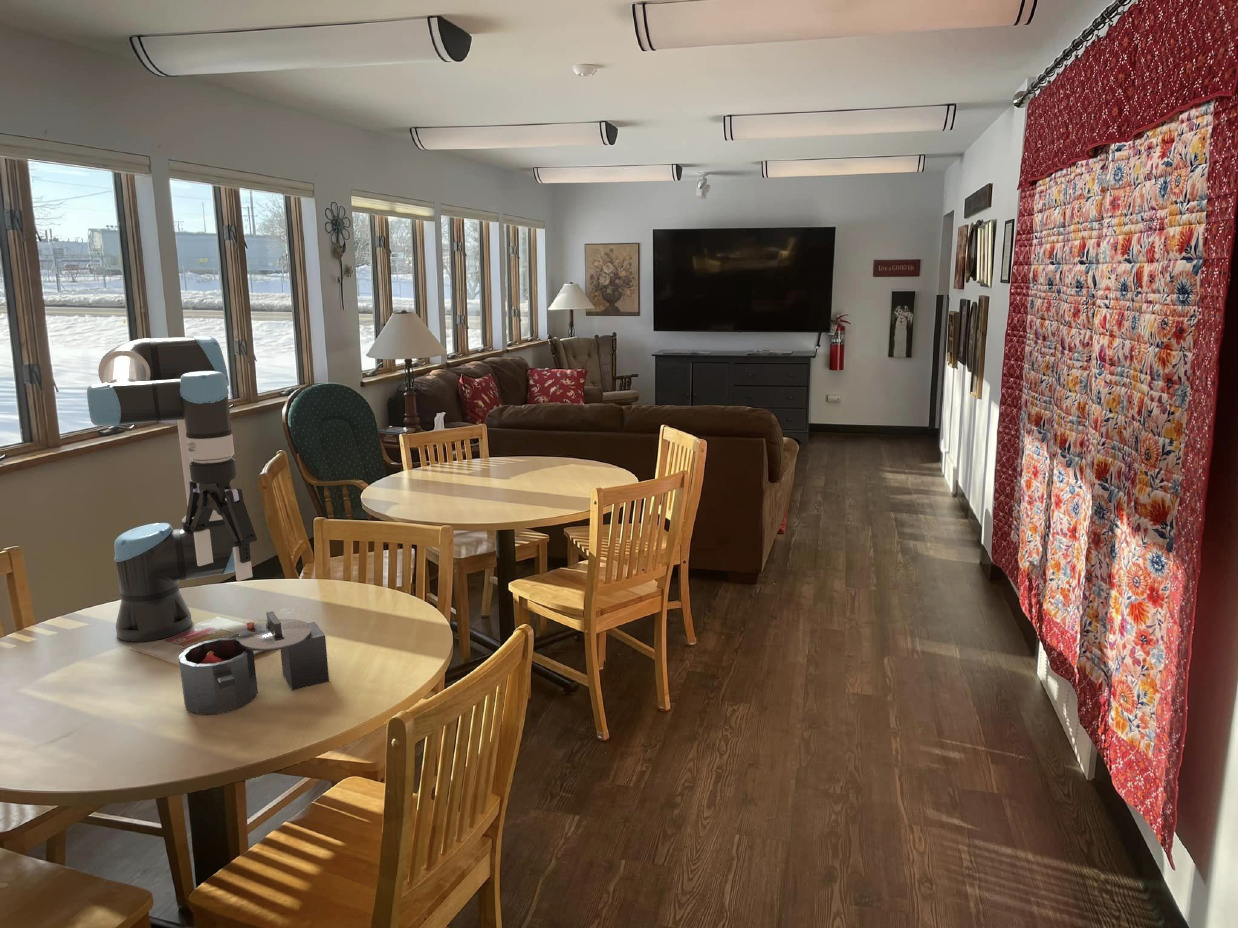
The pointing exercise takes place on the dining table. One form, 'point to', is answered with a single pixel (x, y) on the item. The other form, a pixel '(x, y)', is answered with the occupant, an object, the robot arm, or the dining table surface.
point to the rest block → (306, 661)
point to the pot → (218, 677)
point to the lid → (274, 634)
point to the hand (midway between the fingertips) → (224, 571)
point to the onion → (211, 659)
